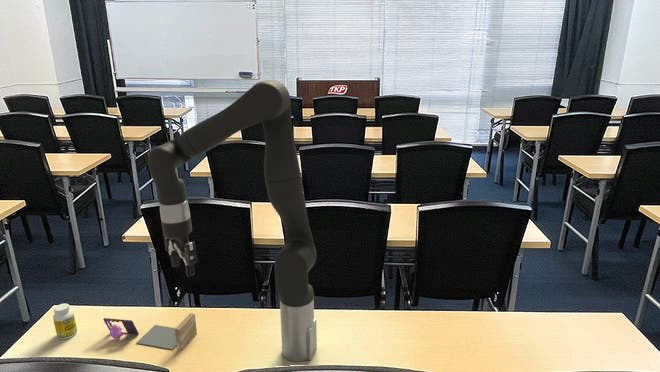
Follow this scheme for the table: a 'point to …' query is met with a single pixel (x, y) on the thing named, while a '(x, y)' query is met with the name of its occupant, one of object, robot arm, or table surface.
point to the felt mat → (159, 337)
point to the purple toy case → (116, 329)
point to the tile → (185, 331)
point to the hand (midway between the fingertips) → (183, 270)
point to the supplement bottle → (64, 321)
